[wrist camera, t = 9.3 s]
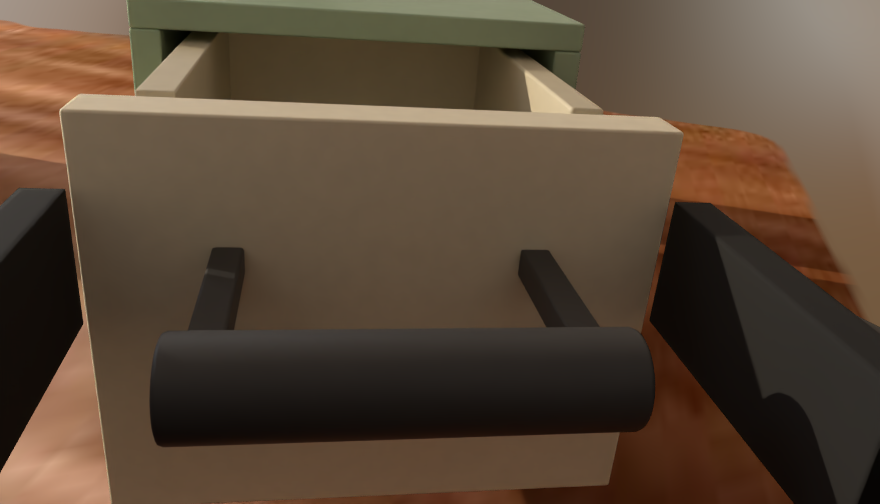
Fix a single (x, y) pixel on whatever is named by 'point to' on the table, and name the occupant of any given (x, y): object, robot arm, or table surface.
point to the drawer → (362, 271)
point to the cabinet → (361, 26)
